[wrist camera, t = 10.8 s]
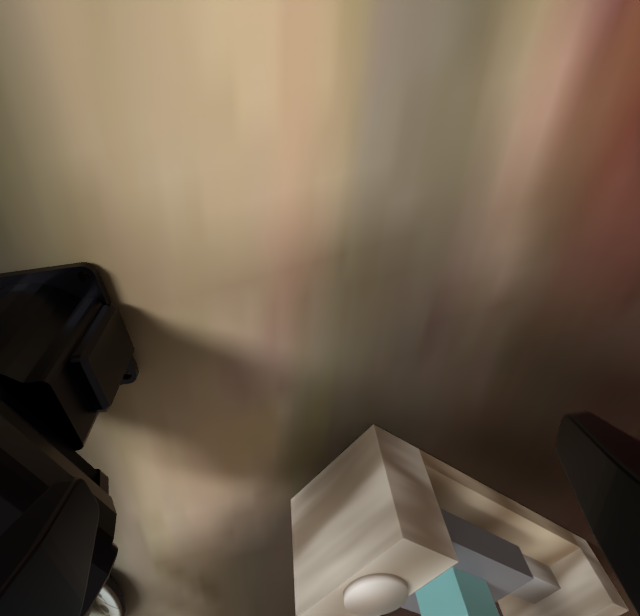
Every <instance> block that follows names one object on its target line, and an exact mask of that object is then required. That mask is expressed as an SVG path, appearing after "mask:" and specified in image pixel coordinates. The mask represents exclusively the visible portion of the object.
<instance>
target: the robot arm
mask: <svg viewBox="0 0 640 616" xmlns="http://www.w3.org/2000/svg"><path fill="white" fill-rule="evenodd" d="M81 271H82V272H86V273H88V275H89V276H90V278H85V277H84V276H82V275H81ZM133 353H134V347H133V345H132V342H131V340H130V337H129V335H128V332H127V330H126V327H125V325H124V322H123V320H122V317H121V315H120V313H119V310H118V308H117V307H116V306H115V305H113V304H111V301H110V299H109V296H108V294H107V291H106V289H105V287H104V284H103V282H102V279H101V277H100V274H99V272H98V270H97V269H96V267H95V266H93V265H92V264H90V263H87V262H81V263H74V264H66V265H59V266H52V267H45V268H37V269H30V270H23V271H16V272H8V273H1V274H0V616H86V614H87V613H88V612H89V610H90V608H91V607H92V605H93V603H94V602H95V600H96V598H97V596H98V595H99V593H100V591H101V590H102V588H103V586H104V584H105V583H106V581H107V579H108V577H109V575H110V572H111V570H112V567H113V565H114V562H115V560H116V556H117V552H118V547H117V545H115V544H114V543H113V539H114V532H115V524H116V515H117V514H116V510H115V507H114V504H113V500H112V497H111V496H109V485H108V476H106V475H105V474H104V473H103V472H102V471H101V470H100V469H94V468H93V467H92V466H91V465H90V464H89V463H88V462H86V461H85V460H84V459H83V458H82V457H81V456H80V455H79V454H77V453H76V452H75V451H77V450H80V449H82V448H83V446H84V444H85V442H86V440H87V437H88V435H89V433H90V431H91V429H92V426H93V424H94V422H95V420H96V418H97V415H98V413H99V412H105V411H107V410H108V408H109V407H110V406H111V404H112V402H113V399H114V397H115V395H116V392H117V390H118V388H119V385H121V384H128V383H132V382H134V381H135V380H136V378H137V375H138V372H139V371H138V367H137V365H136V362H135V360H134V357H133ZM125 372H129V373H130V374H125ZM556 451H557V455H558V457H559V460H560V462H561V464H562V466H563V469H564V471H565V473H566V475H567V478H568V480H569V482H570V484H571V487H572V489H573V491H574V493H575V496H576V498H577V500H578V502H579V505H580V507H581V509H582V511H583V514H584V516H585V518H586V520H587V522H588V525H589V527H590V529H591V531H592V533H593V535H594V537H595V538H596V540H597V542H598V544H599V546H600V548H601V549H602V551H603V553H604V555H605V556H606V558H607V560H608V562H609V563H610V565H611V567H612V569H613V571H614V572H615V574H616V576H617V578H618V579H619V581H620V583H621V585H622V586H623V588H624V590H625V592H626V593H627V595H628V597H629V599H630V600H631V602H632V604H633V606H634V607H635V609H636V611H637V613H638V614H639V616H640V441H639V440H637V439H635V438H634V437H632V436H630V435H629V434H627V433H625V432H624V431H622V430H620V429H618V428H617V427H615V426H613V425H612V424H610V423H608V422H607V421H605V420H603V419H601V418H600V417H598V416H596V415H595V414H593V413H591V412H589V411H576V412H568V413H565V414H564V415H563V417H562V420H561V424H560V427H559V431H558V435H557V439H556Z"/></svg>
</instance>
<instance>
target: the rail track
mask: <svg viewBox="0 0 640 616" xmlns="http://www.w3.org/2000/svg"><path fill="white" fill-rule="evenodd" d="M440 508H441V509H443V510H445V511H447V512H449V513H451V514H453V515H455V516H457V517H459V518H461V519H463V520H466V521H468V522H470V523H472V524H474V525H476V526H478V527H480V528H482V529H484V530H486V531H488V532H490V533H492V534H494V535H496V536H498V537H500V538H502V539H504V540H507V541H509V542H511V543H513V544H515V545H517V546H519V548H520V550H521V552H522V554H523V556H524V559H525V561H526V563H527V565H528V567H529V569H530V571H531V573H532V575H533V577H534V579H533V580H531V581H529V582H528V583H526V584H524V585H523V586H521V587H520V588H518V589H516V590H515V591H513V592H511V593H510V594H508V595H507V596H505V597H503V598H502V599H500V600H498V603H499V606H500V608H501V611H502V613H503V616H619V615H621V614H623V613H625V612H627V611H629V610H628V608H627V606H626V605H625V603H624V601H623V600H622V598H621V597H620V595H619V593H618V592H617V590H616V588H615V587H614V585H613V584H612V582H611V580H610V579H609V577H608V576H607V574H606V572H605V571H604V569H603V567H602V566H601V564H600V563H599V561H598V559H597V558H596V556H595V554H594V553H593V551H592V550H591V548H590V546H589V545H588V543H587V542H586V540H584V539H583V538H581V537H579V536H577V535H575V534H573V533H572V532H570V531H568V530H566V529H564V528H562V527H561V526H559V525H557V524H555V523H553V522H551V521H550V520H548V519H546V518H544V517H542V516H541V515H539V514H537V513H535V512H533V511H531V510H530V509H528V508H526V507H524V506H522V505H520V504H519V503H517V502H515V501H513V500H511V499H509V498H508V497H506V496H504V495H502V494H500V493H498V492H497V491H495V490H493V489H491V488H489V487H488V486H486V485H484V484H482V483H480V482H478V481H477V480H475V479H473V478H471V477H469V476H467V475H466V474H464V473H462V472H460V471H458V470H456V469H455V468H453V467H451V466H449V465H447V464H445V463H444V462H442V461H440V460H438V459H436V458H434V457H433V456H431V455H429V454H427V453H425V452H424V451H422V450H420V449H418V448H416V447H414V446H413V445H411V444H409V443H407V442H405V441H403V440H402V439H400V438H398V437H396V436H394V435H392V434H391V433H389V432H387V431H385V430H383V429H381V428H380V427H378V426H376V425H374V424H373V425H372V426H371V427H370V428H369V429H367V430H366V431H365V432H364V433H363V434H362V435H361V436H360V437H359V438H358V439H357V440H355V441H354V442H353V443H352V444H351V445H350V446H349V447H348V448H347V449H346V450H344V451H343V452H342V453H341V454H340V455H339V456H338V457H337V458H336V459H335V460H334V461H332V462H331V463H330V464H329V465H328V466H327V467H326V468H325V469H324V470H323V471H321V472H320V473H319V474H318V475H317V476H316V477H315V478H314V479H313V480H312V481H311V482H309V483H308V484H307V485H306V486H305V487H304V488H303V489H302V490H301V491H300V492H298V493H297V494H296V495H295V496H294V497H293V498H292V499H291V517H292V540H293V564H294V588H295V611H296V616H380V615H383V614H387V613H390V612H392V611H394V610H396V609H398V608H400V607H401V606H402V605H403V604H404V603H405V602H406V601H407V599H408V596H409V595H411V594H412V593H414V592H415V591H417V590H418V589H420V588H421V587H423V586H424V585H426V584H427V583H428V582H430V581H431V580H433V579H434V578H436V577H437V576H439V575H440V574H442V573H443V572H445V571H446V570H447V569H449V568H450V567H452V566H453V565H455V564H456V563H458V562H459V561H458V558H457V556H456V553H455V550H454V547H453V544H452V541H451V539H450V536H449V533H448V530H447V527H446V524H445V522H444V519H443V516H442V513H441V510H440Z"/></svg>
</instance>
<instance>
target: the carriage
mask: <svg viewBox="0 0 640 616" xmlns="http://www.w3.org/2000/svg"><path fill="white" fill-rule="evenodd" d="M440 510H441V513H442V516H443V519H444V522H445V524H446V527H447V530H448V533H449V536H450V539H451V541H452V544H453V547H454V550H455V553H456V556H457V558H458V561H459V562H458V563H456V564H455V565H453V566H452V567H450V568H449V569H447V570H446V571H445V572H443V573H442V574H440V575H439V576H437V577H436V578H434V579H433V580H431V581H430V582H428V583H427V584H426V585H424V586H423V587H421V588H420V589H418V590H417V591H415V592H414V593H412V594H411V595H409V596H408V599H407V601H406V602H405V603H404V604H403V605H402V606H401V608H404V609H407V610H410V611H412V612H415V613H418V614H421V616H500V615H499V613H498V610H497V608H496V605H495V602H497V601H498V600H500V599H502V598H503V597H505V596H507V595H508V594H510V593H511V592H513V591H515V590H516V589H518V588H520V587H521V586H523V585H524V584H526V583H528V582H529V581H531V580H533V579H534V577H533V575H532V573H531V571H530V569H529V567H528V565H527V563H526V561H525V559H524V556H523V554H522V552H521V550H520V548H519V546H517V545H515V544H513V543H511V542H509V541H507V540H504V539H502V538H500V537H498V536H496V535H494V534H492V533H490V532H488V531H486V530H484V529H482V528H480V527H478V526H476V525H474V524H472V523H470V522H468V521H466V520H463V519H461V518H459V517H457V516H455V515H453V514H451V513H449V512H447V511H445V510H443V509H441V508H440Z"/></svg>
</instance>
